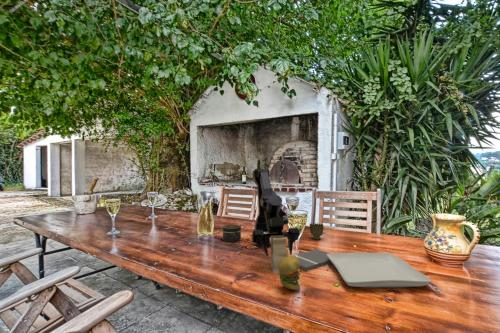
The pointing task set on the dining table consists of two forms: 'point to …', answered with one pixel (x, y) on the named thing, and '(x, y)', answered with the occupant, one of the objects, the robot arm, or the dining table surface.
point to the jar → (231, 233)
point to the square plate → (376, 270)
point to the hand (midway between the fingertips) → (279, 255)
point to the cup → (316, 230)
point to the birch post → (277, 252)
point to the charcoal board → (313, 259)
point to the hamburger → (289, 272)
